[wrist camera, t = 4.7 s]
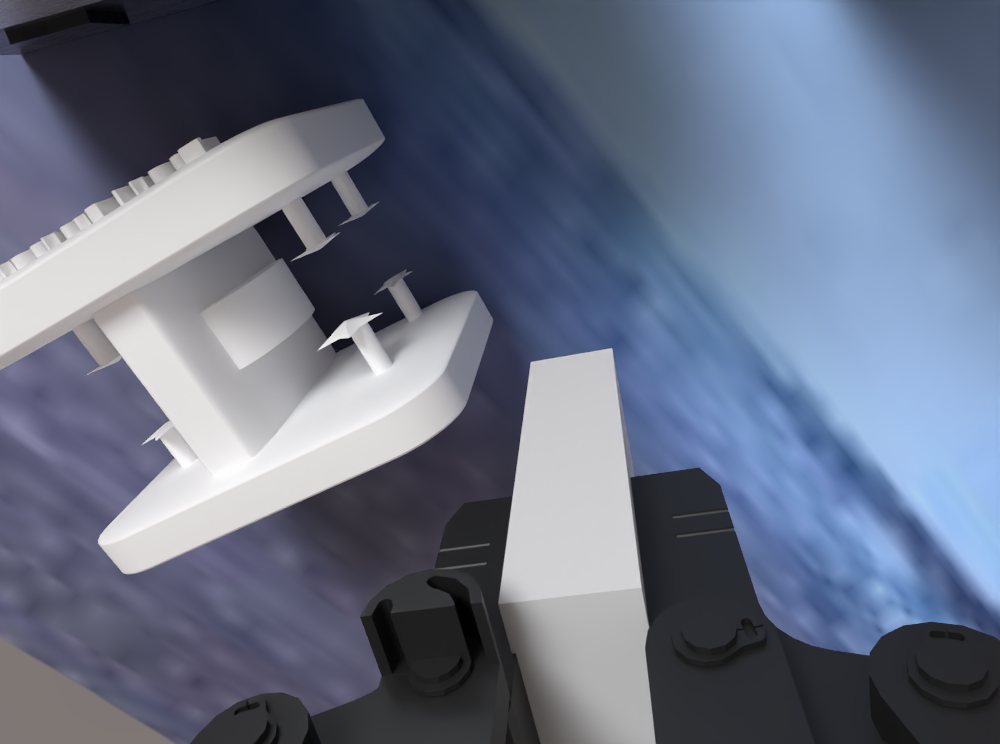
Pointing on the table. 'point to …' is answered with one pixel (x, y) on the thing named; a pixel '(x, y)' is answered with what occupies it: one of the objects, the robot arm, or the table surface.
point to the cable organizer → (241, 332)
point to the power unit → (74, 19)
